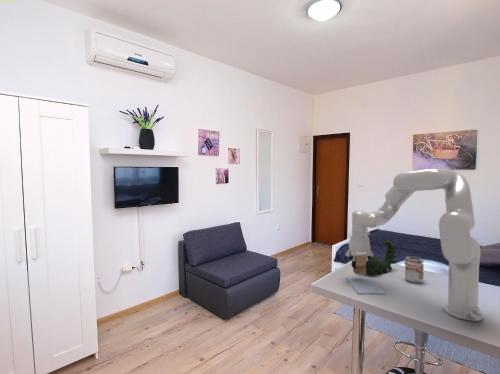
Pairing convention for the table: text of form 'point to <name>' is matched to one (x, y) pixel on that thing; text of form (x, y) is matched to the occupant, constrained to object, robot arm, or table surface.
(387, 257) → the toy figurine
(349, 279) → the rubber mat
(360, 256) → the brown tall block
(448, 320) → the table surface
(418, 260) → the beverage can
